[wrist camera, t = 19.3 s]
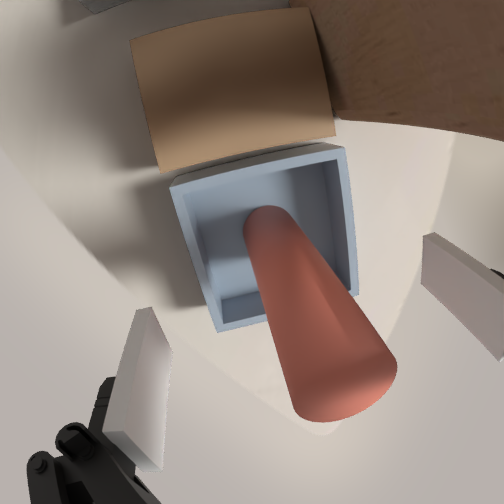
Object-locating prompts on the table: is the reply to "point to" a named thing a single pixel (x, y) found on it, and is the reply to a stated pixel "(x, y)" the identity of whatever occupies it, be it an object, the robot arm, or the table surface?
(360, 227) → the table surface
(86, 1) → the socket
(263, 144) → the cardboard box
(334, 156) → the tray
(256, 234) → the dowel
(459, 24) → the wooden block
